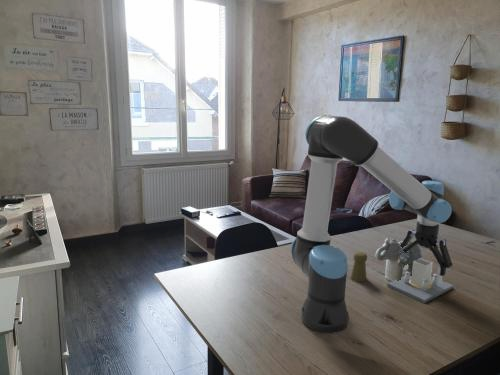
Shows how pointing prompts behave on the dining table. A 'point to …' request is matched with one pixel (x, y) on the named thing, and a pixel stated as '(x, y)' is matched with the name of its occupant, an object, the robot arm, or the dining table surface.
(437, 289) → the pin board
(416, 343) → the dining table surface
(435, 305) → the dining table surface
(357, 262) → the cork
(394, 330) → the dining table surface
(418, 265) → the cream plug
